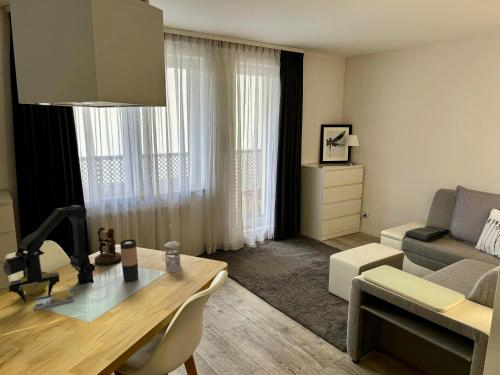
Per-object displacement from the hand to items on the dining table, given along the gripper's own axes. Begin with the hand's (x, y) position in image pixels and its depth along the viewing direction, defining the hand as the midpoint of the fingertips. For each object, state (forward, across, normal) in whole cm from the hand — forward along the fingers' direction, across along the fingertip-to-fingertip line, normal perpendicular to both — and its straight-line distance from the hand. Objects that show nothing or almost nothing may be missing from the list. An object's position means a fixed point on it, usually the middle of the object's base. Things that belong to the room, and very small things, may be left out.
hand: (37, 299), depth 154 cm
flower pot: (+2, +1, -12) cm, 13 cm away
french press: (+2, -63, -5) cm, 63 cm away
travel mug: (+2, -41, -4) cm, 41 cm away
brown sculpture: (+2, -35, -36) cm, 50 cm away
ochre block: (+1, -9, 0) cm, 9 cm away
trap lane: (+2, -6, +2) cm, 7 cm away
